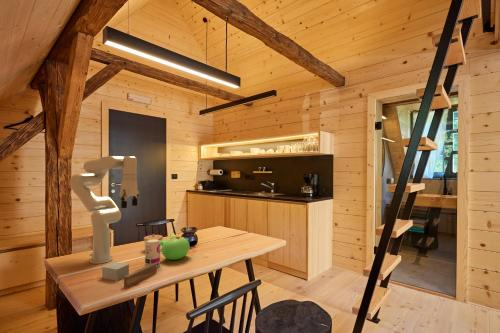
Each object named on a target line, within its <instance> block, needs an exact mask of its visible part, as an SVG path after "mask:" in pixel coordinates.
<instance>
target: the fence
mask: <svg viewBox="0 0 500 333" xmlns="http://www.w3.org/2000/svg"><path fill="white" fill-rule="evenodd" d="M156 273H157V267H156V263H152V264H150V265H147V266H145V265H144V266H143V267H142V268H139V269H137V270H134V271H133V272H131V273H129V275H126V276H124V278H123V287H124V288H127V289H128V288H130V287H132V286H134V285H136V284H138V283H139V282H142V281H143V280H145V279H147V278H149V277H151V276H153V275H155V274H156Z"/></svg>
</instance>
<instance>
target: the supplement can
mask: <svg viewBox="0 0 500 333" xmlns="http://www.w3.org/2000/svg"><path fill="white" fill-rule="evenodd" d="M144 248H145V249H144V251H145V252H144V253H145V254H144V257H145V258H144V260H145V261H144V263H145V265H144V267H145V266H147V265H150V264H152V263H156V268H158V267H159V266H160V265H161V247H160V241H159V240H158V239H151V240H147V242H146V243H145V246H144Z"/></svg>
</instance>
